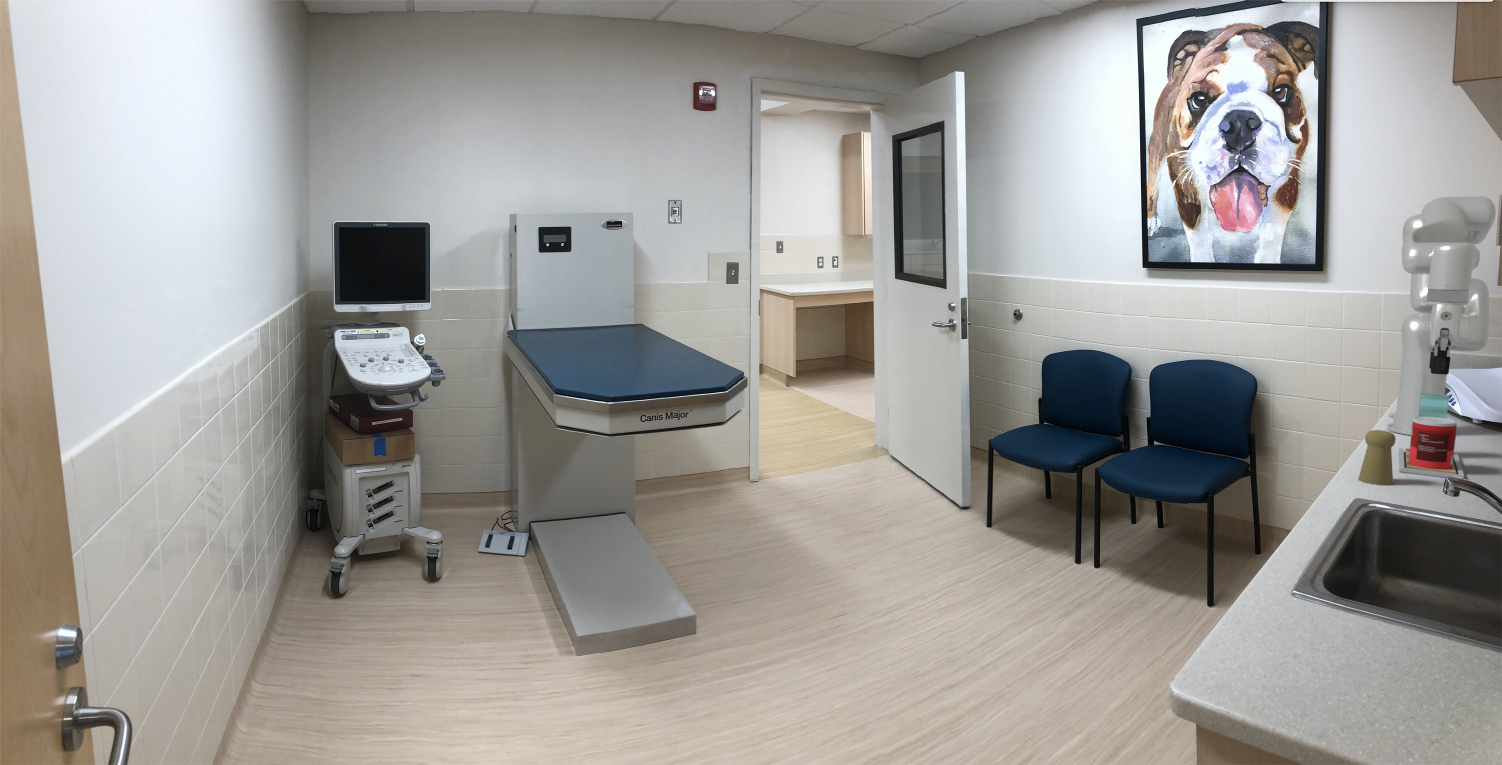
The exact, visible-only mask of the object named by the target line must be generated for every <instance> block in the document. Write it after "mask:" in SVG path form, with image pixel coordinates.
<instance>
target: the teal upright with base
mask: <svg viewBox="0 0 1502 765" xmlns="http://www.w3.org/2000/svg"><path fill="white" fill-rule="evenodd" d="M1449 399H1450V395H1448V394H1447V395H1446V394H1444V395H1436V394H1423V393H1421V401H1420V410H1419V417H1439V418H1446V419H1448V408H1449V401H1450V400H1449ZM1405 452H1406V467H1407V468H1408V469H1416V470H1425V471H1433V472H1442V473H1450V474H1456V470H1455V466H1454V462H1453V464H1452V468H1451V469H1429V468H1423V467H1418V466H1415V465H1412V464H1410V463H1409V454H1410V448H1405Z"/></svg>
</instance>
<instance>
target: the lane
mask: <svg viewBox="0 0 1502 765" xmlns="http://www.w3.org/2000/svg"><path fill="white" fill-rule="evenodd" d="M1453 462H1454V466H1455V470H1456V474H1450V473H1442V472H1433V471H1425V470H1416V469H1408V468H1407V467H1406V451H1404V448H1398V469H1399V472H1398V473H1403V474H1410V475H1411V474H1412V475H1419V476H1428V477H1437V478H1443V476H1444V478H1445V477H1446V476H1457V477H1462V478H1464V479H1465V474H1464V470H1463V467H1462V465H1461V464H1462V463H1461V461H1460V457H1459V454H1455V453H1454V455H1453Z"/></svg>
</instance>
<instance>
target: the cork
mask: <svg viewBox="0 0 1502 765" xmlns="http://www.w3.org/2000/svg"><path fill="white" fill-rule="evenodd" d="M1364 441H1365V444H1366V445H1367V446H1366V449H1365V454H1364V458H1363V461H1362V465H1361V468H1360V472H1359V475H1358V479H1357V480H1358V481H1359V482H1362V483H1365V484H1369V483H1370V484H1369V485H1375V484H1376V485H1377V486H1392V485H1393V484H1394V476H1393V457H1392V454H1393V453H1392V447H1394V445H1395V444H1396V436H1395V434H1394V432H1392V431H1389V430H1388V431H1387V430H1383V429H1382V430H1381V429H1374V430H1369V431H1368V432H1367V433H1366V434H1365V436H1364Z"/></svg>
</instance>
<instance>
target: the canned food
mask: <svg viewBox="0 0 1502 765" xmlns="http://www.w3.org/2000/svg"><path fill="white" fill-rule="evenodd" d="M1457 426H1458V423H1457V420H1453V419H1450V418H1439V417H1415V418H1413V423H1412V432H1411V435H1410V443H1409V444H1410V445H1409V449H1410V454H1409V463H1410V464H1412V465H1415V466H1418V467H1423V468H1429V469H1451V468H1452V464H1453V455H1454V454H1455V445H1456V435H1457Z"/></svg>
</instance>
